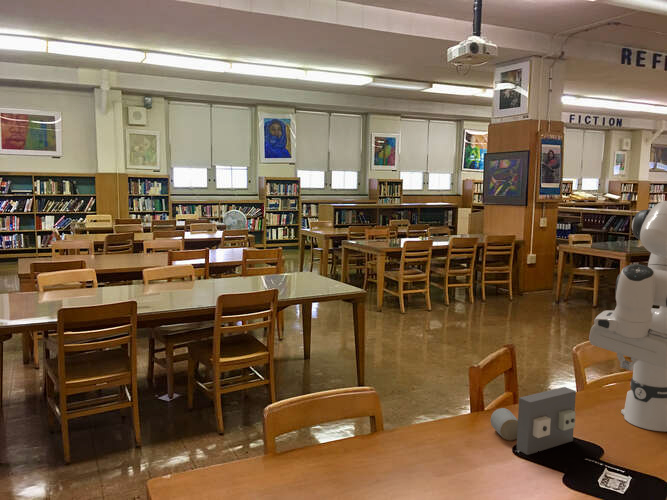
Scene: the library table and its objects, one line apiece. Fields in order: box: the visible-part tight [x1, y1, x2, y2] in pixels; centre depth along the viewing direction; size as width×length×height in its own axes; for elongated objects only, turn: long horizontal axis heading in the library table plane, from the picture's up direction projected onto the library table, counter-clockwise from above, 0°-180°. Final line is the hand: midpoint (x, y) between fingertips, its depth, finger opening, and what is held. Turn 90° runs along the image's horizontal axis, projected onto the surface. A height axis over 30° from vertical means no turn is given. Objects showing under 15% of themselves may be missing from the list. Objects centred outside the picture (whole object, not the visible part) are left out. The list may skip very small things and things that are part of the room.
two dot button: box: [558, 409, 577, 431], centre depth 159 cm, size 5×5×5 cm
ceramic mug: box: [490, 407, 518, 441], centre depth 164 cm, size 11×8×8 cm
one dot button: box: [532, 416, 551, 438], centre depth 154 cm, size 5×5×5 cm
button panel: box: [516, 386, 577, 456], centre depth 158 cm, size 20×4×16 cm, turn 118°
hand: (626, 368), depth 145 cm, fingers closed
